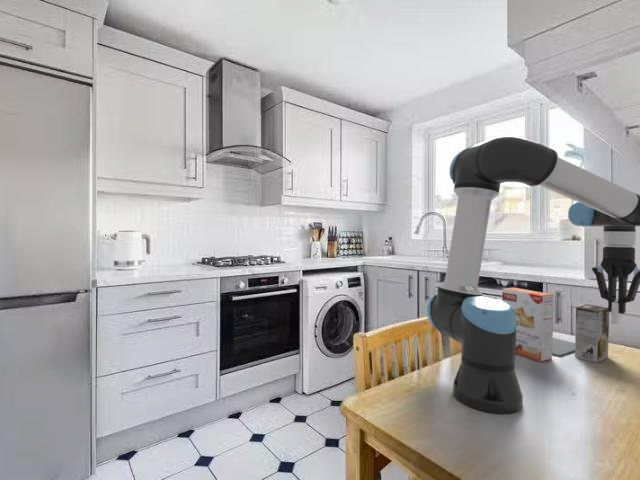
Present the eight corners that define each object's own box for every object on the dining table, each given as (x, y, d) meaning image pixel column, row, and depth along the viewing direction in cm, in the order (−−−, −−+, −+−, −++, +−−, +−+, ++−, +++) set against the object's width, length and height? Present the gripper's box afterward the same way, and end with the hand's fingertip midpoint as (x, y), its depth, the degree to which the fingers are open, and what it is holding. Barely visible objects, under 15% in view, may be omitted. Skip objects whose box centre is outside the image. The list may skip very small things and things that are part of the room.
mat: (559, 356, 113) (559, 355, 113) (516, 344, 126) (516, 342, 126) (586, 347, 122) (586, 346, 122) (544, 337, 135) (544, 335, 135)
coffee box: (585, 351, 119) (586, 303, 118) (608, 357, 114) (610, 307, 113) (573, 356, 114) (575, 307, 113) (598, 363, 108) (599, 310, 108)
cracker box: (500, 348, 121) (501, 287, 120) (511, 346, 124) (513, 286, 123) (540, 362, 108) (542, 295, 108) (552, 359, 111) (554, 293, 110)
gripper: (651, 246, 103) (649, 326, 104) (599, 245, 115) (597, 317, 115) (641, 247, 100) (638, 330, 100) (587, 245, 111) (585, 320, 112)
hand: (616, 323), depth 108 cm, fingers closed
